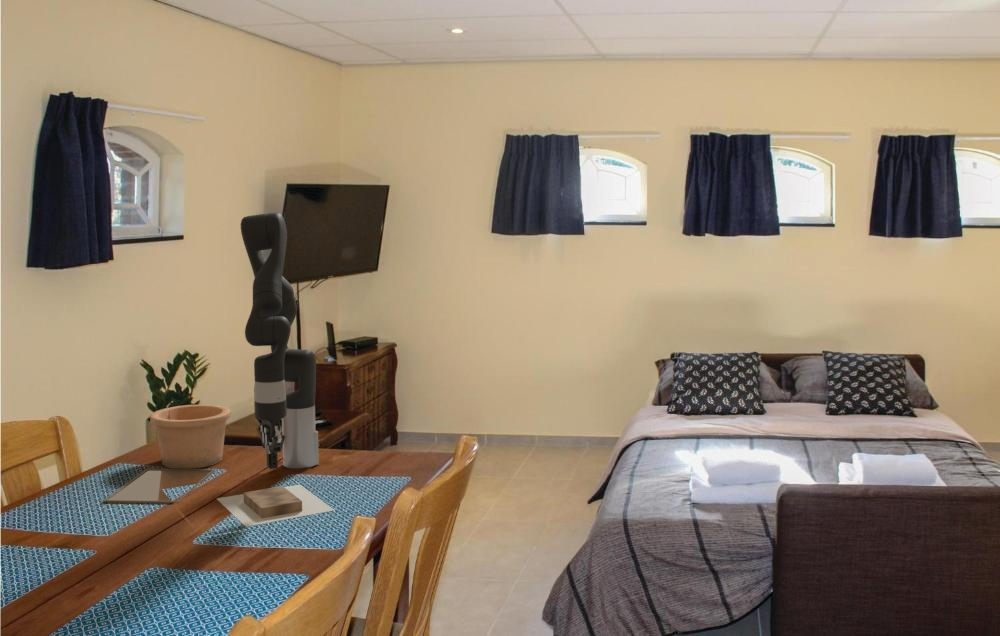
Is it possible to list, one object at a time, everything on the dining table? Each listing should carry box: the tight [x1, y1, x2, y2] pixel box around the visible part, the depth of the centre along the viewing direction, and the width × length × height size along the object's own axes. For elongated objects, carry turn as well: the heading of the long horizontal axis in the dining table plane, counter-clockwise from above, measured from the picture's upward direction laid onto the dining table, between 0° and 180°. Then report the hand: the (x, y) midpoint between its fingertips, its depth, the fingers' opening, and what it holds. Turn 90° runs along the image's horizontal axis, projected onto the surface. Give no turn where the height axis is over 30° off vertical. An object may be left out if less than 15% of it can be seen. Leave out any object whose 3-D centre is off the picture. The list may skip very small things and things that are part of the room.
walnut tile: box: [243, 485, 302, 518], centre depth 233 cm, size 10×2×14 cm
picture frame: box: [102, 468, 216, 505], centre depth 251 cm, size 19×1×28 cm
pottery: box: [149, 404, 231, 469], centre depth 273 cm, size 22×22×14 cm
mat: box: [216, 484, 335, 528], centre depth 235 cm, size 22×24×1 cm
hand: (272, 467), depth 232 cm, fingers closed
